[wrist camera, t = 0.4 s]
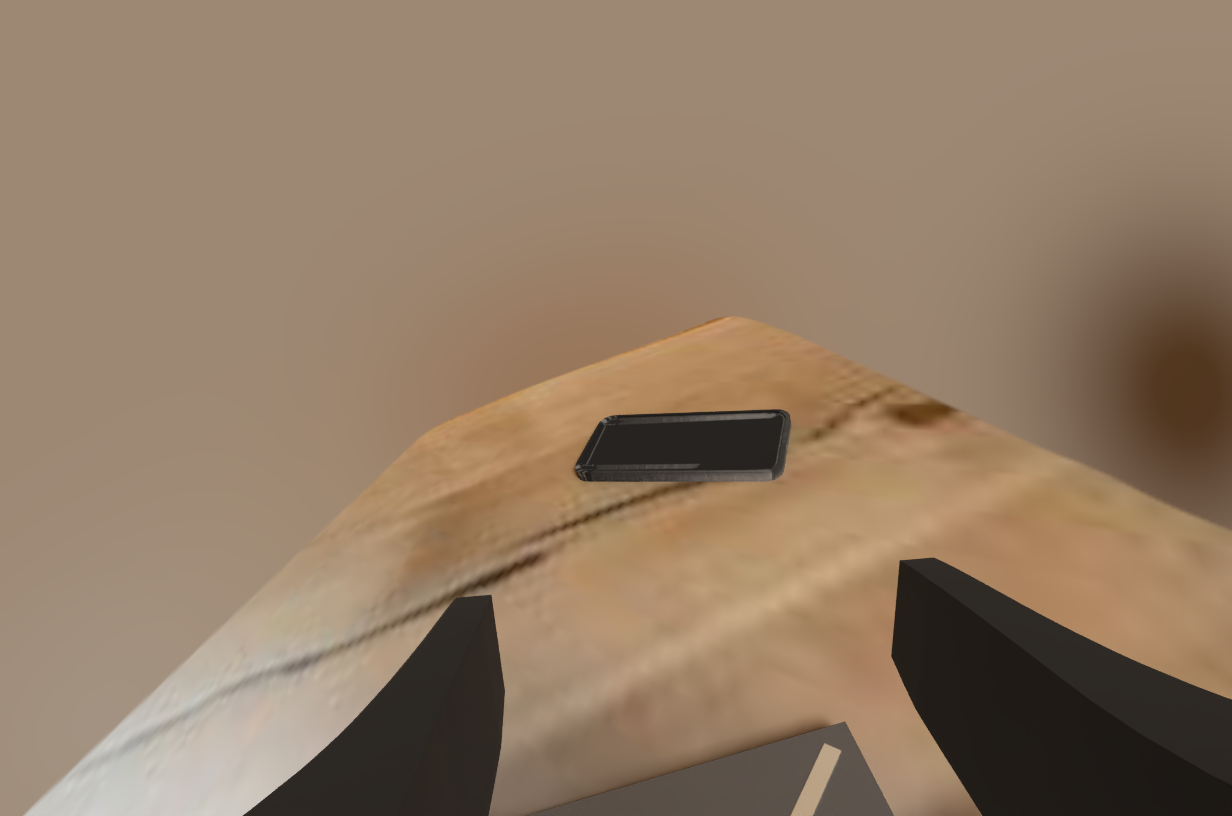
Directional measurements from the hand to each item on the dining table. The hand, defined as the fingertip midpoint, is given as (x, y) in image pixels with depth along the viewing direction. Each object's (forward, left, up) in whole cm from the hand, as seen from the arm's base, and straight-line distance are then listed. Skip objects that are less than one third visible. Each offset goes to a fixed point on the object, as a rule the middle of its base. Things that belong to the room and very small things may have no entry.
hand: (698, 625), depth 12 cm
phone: (+34, -5, -20) cm, 40 cm away
